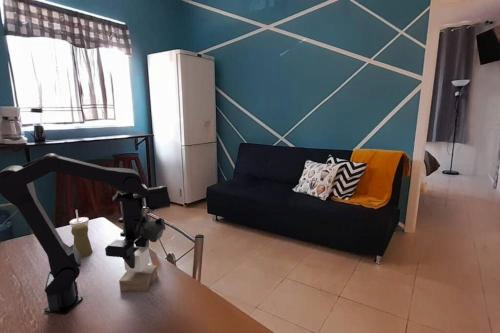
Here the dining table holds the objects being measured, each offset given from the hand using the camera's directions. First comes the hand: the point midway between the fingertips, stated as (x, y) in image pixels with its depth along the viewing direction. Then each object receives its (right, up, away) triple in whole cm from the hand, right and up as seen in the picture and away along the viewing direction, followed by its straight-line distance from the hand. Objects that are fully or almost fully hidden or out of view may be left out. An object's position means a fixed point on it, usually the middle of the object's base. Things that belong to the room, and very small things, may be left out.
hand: (137, 263), depth 84 cm
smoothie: (-32, -2, +27) cm, 42 cm away
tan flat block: (0, -7, +2) cm, 7 cm away
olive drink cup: (-27, -3, +19) cm, 33 cm away
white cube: (0, -1, 0) cm, 1 cm away
